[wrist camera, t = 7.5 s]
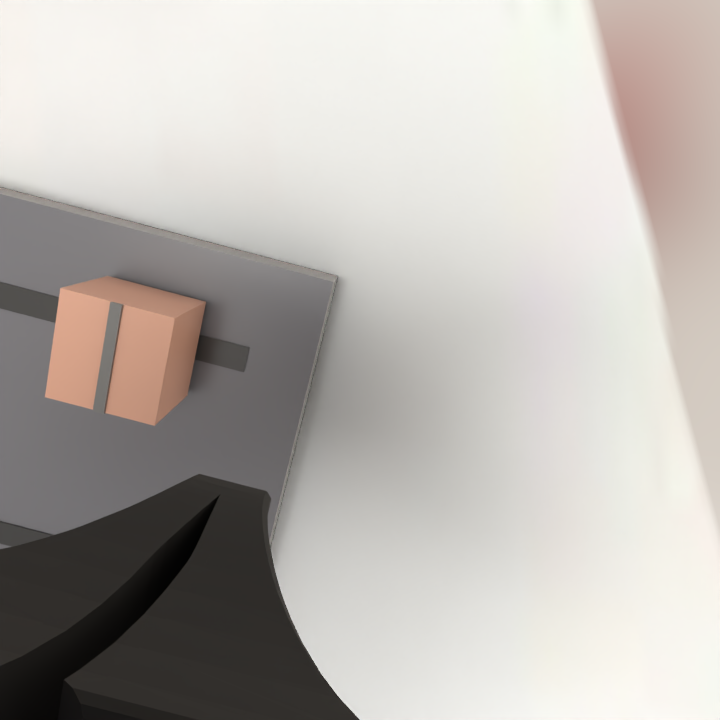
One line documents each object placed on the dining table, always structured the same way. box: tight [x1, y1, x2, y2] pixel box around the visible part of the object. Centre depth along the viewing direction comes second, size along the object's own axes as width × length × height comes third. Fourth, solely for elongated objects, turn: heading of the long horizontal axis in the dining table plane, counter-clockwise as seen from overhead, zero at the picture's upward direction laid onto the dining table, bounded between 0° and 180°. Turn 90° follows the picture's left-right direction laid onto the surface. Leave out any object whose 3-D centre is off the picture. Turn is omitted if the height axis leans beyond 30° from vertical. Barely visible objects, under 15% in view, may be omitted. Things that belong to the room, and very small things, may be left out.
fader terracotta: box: [45, 276, 206, 426], centre depth 18 cm, size 3×3×3 cm
